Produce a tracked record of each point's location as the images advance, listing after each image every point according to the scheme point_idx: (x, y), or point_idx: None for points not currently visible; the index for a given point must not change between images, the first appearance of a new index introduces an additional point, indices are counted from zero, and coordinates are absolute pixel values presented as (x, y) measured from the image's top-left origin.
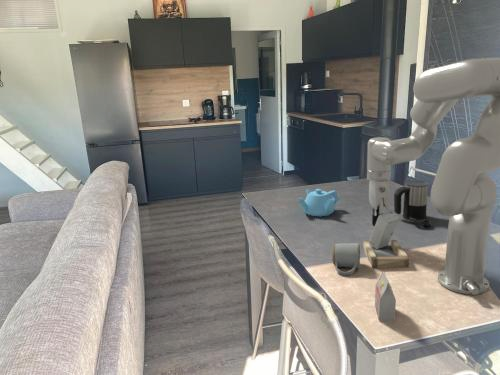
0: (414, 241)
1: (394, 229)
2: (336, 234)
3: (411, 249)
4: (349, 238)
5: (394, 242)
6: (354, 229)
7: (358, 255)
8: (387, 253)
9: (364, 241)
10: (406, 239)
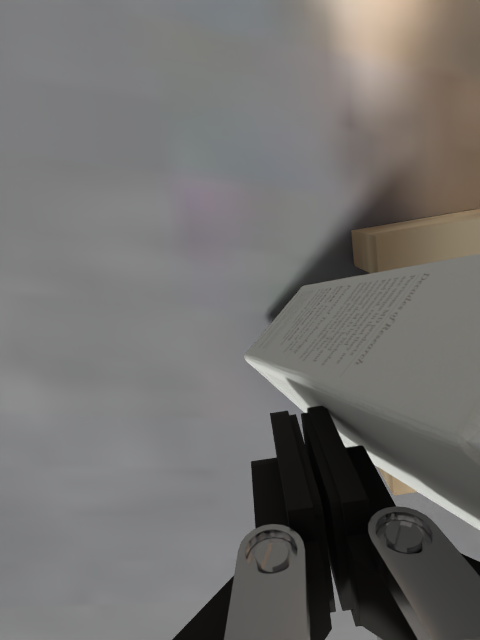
0: (193, 37)
1: (405, 268)
2: (140, 599)
3: (373, 98)
4: (198, 528)
5: (434, 256)
6: (18, 499)
7: None
8: None
9: (407, 486)
10: (155, 109)
